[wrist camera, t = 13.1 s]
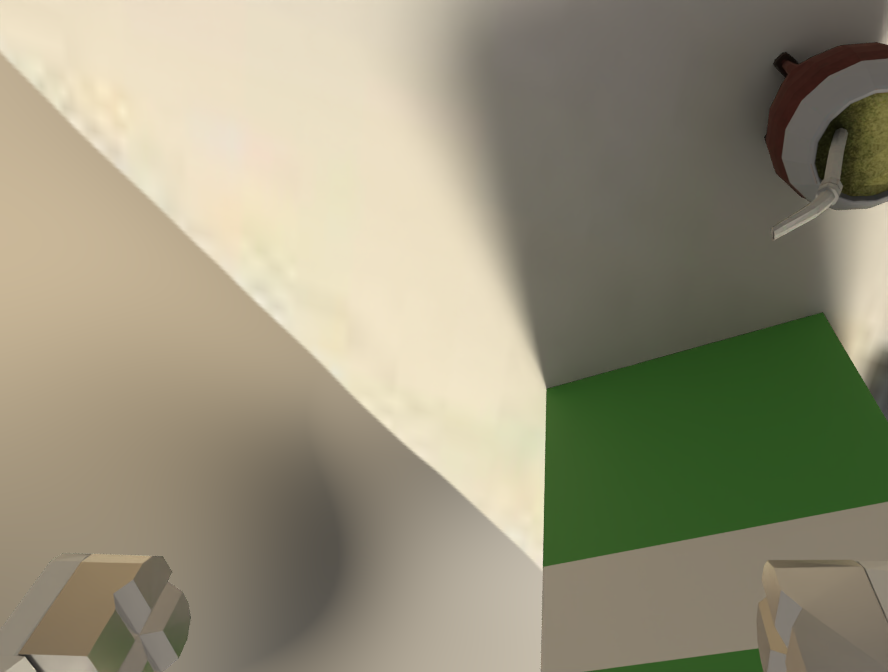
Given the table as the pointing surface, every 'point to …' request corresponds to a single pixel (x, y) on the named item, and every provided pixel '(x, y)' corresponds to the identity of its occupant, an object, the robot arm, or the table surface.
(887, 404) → the table surface
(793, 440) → the hardback book
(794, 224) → the mate gourd
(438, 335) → the table surface
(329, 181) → the table surface
